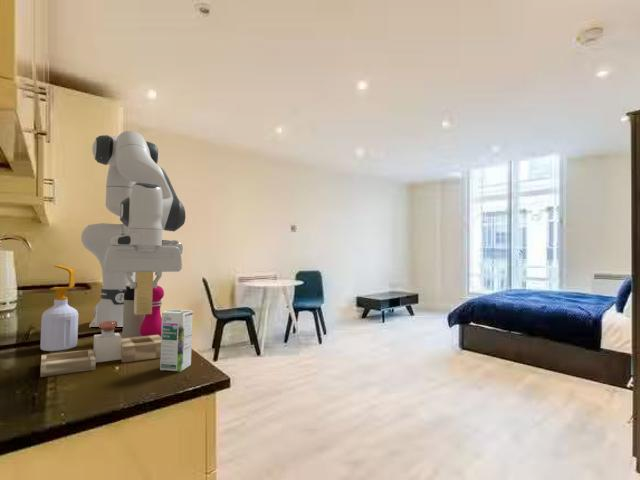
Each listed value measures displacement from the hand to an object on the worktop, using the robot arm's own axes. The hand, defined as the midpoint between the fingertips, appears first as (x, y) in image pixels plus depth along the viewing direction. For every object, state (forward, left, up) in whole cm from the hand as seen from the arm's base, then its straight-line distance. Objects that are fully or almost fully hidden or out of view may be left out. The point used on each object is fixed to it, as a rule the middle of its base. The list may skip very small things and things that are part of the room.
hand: (143, 288), depth 109 cm
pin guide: (-1, -8, -19) cm, 21 cm away
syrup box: (+17, +5, -19) cm, 26 cm away
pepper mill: (-11, +5, -19) cm, 22 cm away
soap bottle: (-20, -19, -19) cm, 33 cm away
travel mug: (-21, +2, -19) cm, 28 cm away
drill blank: (0, 0, -7) cm, 7 cm away
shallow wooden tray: (+3, -17, -19) cm, 26 cm away
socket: (0, 0, -19) cm, 19 cm away
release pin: (-1, -9, -18) cm, 20 cm away
